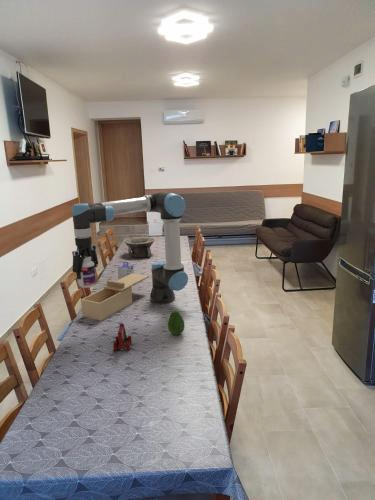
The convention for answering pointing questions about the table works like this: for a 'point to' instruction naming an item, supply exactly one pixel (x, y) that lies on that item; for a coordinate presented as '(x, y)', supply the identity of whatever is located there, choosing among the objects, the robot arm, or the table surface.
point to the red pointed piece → (122, 339)
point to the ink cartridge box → (124, 270)
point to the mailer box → (105, 303)
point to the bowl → (139, 246)
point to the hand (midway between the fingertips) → (87, 282)
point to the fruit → (175, 323)
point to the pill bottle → (88, 273)
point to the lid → (125, 282)
